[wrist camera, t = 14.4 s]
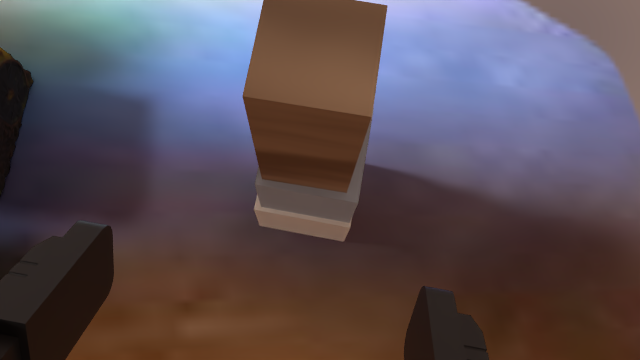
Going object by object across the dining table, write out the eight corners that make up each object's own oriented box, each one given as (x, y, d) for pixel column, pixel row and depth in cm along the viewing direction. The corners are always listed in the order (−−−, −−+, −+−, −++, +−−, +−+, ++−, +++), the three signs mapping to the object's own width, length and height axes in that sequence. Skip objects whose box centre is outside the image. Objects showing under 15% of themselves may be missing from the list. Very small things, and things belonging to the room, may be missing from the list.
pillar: (346, 192, 28) (371, 117, 18) (262, 179, 28) (242, 96, 18) (358, 114, 29) (387, 5, 20) (277, 101, 29) (266, -14, 20)
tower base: (343, 241, 37) (350, 227, 32) (259, 225, 37) (253, 209, 32) (357, 162, 39) (365, 137, 34) (277, 147, 39) (274, 120, 34)
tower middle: (349, 222, 32) (358, 203, 28) (261, 206, 33) (254, 184, 28) (363, 140, 34) (373, 107, 29) (278, 125, 34) (275, 90, 29)
